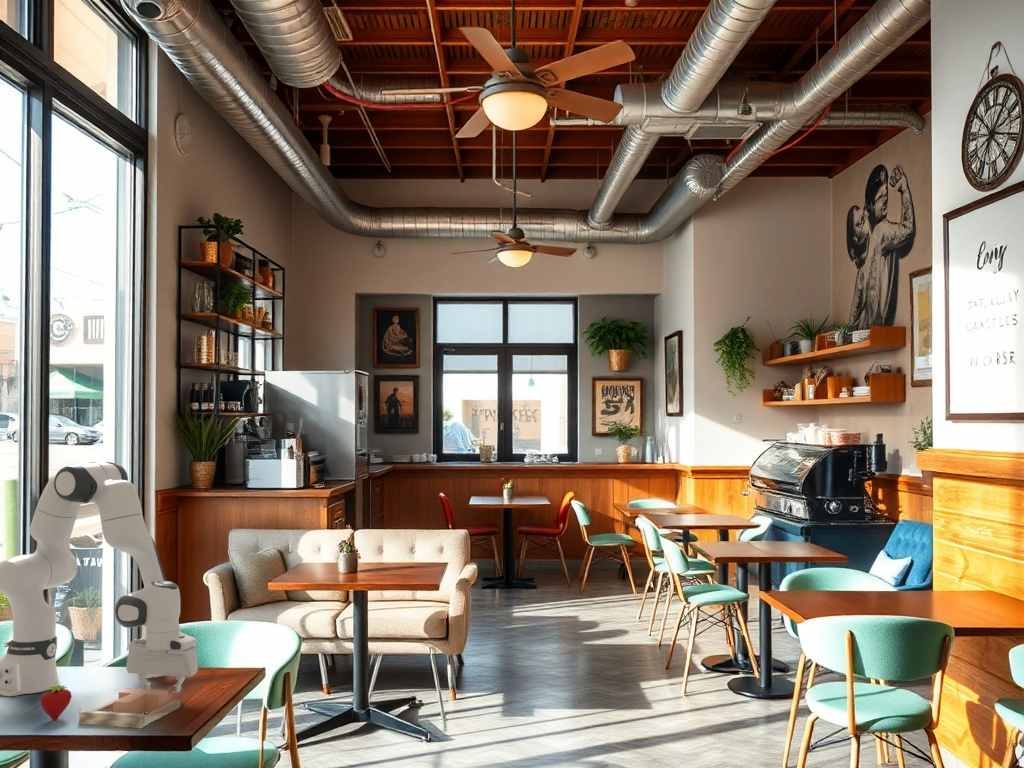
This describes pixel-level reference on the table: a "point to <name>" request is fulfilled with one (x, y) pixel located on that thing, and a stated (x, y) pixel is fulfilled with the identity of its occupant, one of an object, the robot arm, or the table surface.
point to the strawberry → (55, 701)
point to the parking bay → (124, 716)
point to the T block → (140, 701)
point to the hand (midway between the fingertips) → (161, 690)
